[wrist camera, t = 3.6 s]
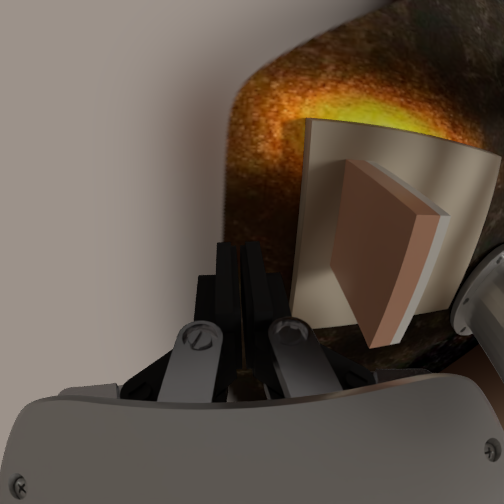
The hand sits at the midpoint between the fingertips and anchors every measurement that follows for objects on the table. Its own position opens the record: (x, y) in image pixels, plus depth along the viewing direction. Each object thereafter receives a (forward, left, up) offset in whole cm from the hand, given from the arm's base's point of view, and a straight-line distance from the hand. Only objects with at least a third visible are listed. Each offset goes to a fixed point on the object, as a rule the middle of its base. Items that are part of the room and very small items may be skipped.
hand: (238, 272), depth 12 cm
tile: (-7, 0, -5) cm, 9 cm away
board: (-12, +2, -6) cm, 14 cm away
